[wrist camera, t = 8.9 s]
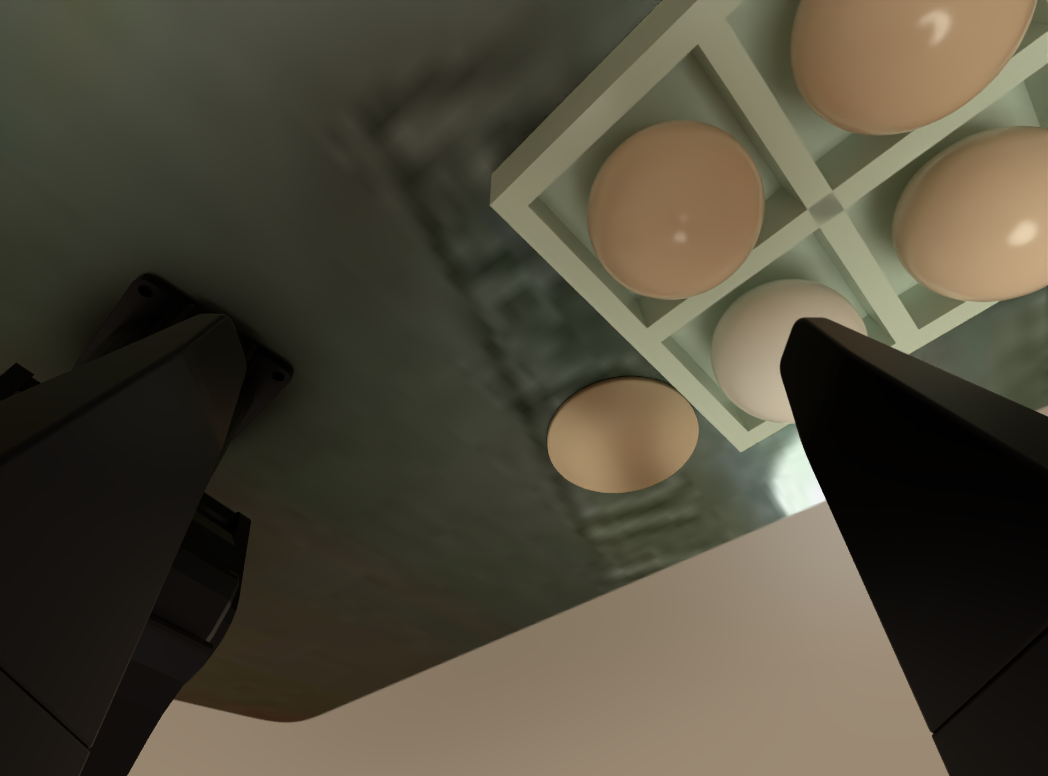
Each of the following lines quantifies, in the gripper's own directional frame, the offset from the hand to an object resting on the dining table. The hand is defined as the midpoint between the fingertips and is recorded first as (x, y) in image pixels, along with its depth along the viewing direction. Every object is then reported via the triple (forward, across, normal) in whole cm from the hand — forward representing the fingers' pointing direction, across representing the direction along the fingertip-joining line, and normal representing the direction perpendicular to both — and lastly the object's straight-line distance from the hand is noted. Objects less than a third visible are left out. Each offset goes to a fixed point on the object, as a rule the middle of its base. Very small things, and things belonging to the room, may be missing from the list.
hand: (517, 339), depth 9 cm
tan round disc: (+12, -5, +13) cm, 19 cm away
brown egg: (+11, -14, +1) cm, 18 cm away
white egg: (+11, -10, +6) cm, 16 cm away
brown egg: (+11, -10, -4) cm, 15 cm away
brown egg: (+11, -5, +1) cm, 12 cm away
